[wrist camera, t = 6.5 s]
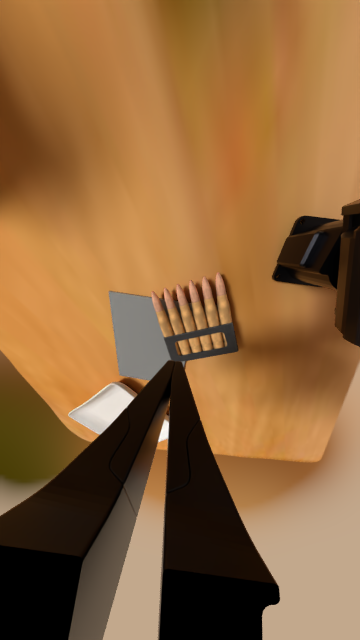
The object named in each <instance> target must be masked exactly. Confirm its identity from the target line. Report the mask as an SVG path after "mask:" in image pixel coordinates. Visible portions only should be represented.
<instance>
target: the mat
mask: <svg viewBox="0 0 360 640" xmlns="http://www.w3.org/2000/svg"><path fill="white" fill-rule="evenodd" d="M109 298H110V305H111V313H112V321H113V329H114V336H115V344H116V352H117V359H118V367H119V375H121V376H127V377H132V378H138V379H144V380H151V379H152V378H153V377H154V376H155V374H156V373H157V372H158V371H159V370H160V369H161V368H162V367H163V365H164V364H165V363H166V362H167V361H168V360H171V358H170V355H169V352H168V349H167V347H166V344H165V341H164V335H163V333H162V330H161V328H160V325H159V323H158V318H157V315H156V311H155V308H154V305H153V301H152V297H146V296H139V295H133V294H126V293H119V292H113V291H109ZM159 300H160V301H161V304H162V306H163V309H164V310H165V313H166V315H167V316H168V318H169V313H168V309H167V306H166V302H165V299H159ZM174 303H175V306H176V308H177V311H178V313H179V314H180V317H181V310H180V306H179V302H178V301H174ZM188 305H189V308H190V310H191V312H192V315H193V308H192V303H188ZM193 316H194V315H193ZM181 320H182V317H181ZM169 321H170V319H169ZM182 323H183V320H182ZM170 324H171V322H170ZM171 326H172V325H171ZM183 326H184V323H183ZM184 328H185V327H184ZM172 329H173V327H172ZM188 342H189V340H188ZM177 343H178V342H177ZM179 348H180V347H179ZM182 363H183V366H184V365H185V361H183V362H182Z"/></svg>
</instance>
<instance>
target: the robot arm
mask: <svg viewBox="0 0 360 640" xmlns="http://www.w3.org/2000/svg"><path fill="white" fill-rule="evenodd" d="M342 215H344V216H343V220H336V219H328V218H320V217H312V216H301V217H299V218H298V219H297V220H296V221H295V223H294V226H293V228H292V230H291V233H290V235H289V237H288V238H287V239H286V241H285V243H284V246H283V248H282V250H281V253H280V255H279V258H278V260H277V266H276V268H275V270H274V273H273V275H272V279H273V280H276V281H282V282H289V283H296V284H303V285H310V286H317V287H326V288H329V289H333V290H337V298H336V308H335V326H336V327H337V328H338V330H339V331H340V332H341V333H342V334H343V338H344V339H345V340H347V341H349V342H351V343H353V344H354V345H357V346H359V347H360V199H359V200H357V201H354V202H352V203H350V204H347V205H345V206H343V207H342ZM301 220H302V221H303V222H302V224H300V221H301ZM277 275H279V276H278V278H276V276H277ZM169 401H170V409H169V429H168V449H167V469H166V489H165V508H164V528H163V548H162V569H161V588H160V589H161V590H160V609H159V627H158V628H159V629H158V640H262V613H263V610H264V609H265V607H267V606H269V605H276V604H277V603H279V601H280V597H279V596H280V595H279V586H278V585H277V583H276V581H275V580H274V578H273V576H272V575H271V573H270V571H269V570H268V568H267V566H266V564H265V563H264V561H263V559H262V558H261V556H260V554H259V553H258V551H257V549H256V547H255V546H254V544H253V542H252V540H251V538H250V536H249V534H248V532H247V530H246V528H245V526H244V524H243V522H242V520H241V517H240V516H239V513H238V511H237V509H236V506H235V504H234V502H233V499H232V497H231V495H230V493H229V490H228V488H227V486H226V483H225V481H224V479H223V476H222V474H221V472H220V469H219V467H218V465H217V463H216V460H215V458H214V455H213V453H212V450H211V448H210V445H209V443H208V440H207V437H206V434H205V431H204V428H203V425H202V422H201V420H200V416H199V413H198V410H197V407H196V404H195V401H194V397H193V394H192V391H191V388H190V385H189V382H188V379H187V376H186V373H185V369H184V366H183V363H182V362H180V361H173V360H168V361H167V362H166V363H165V364H164V365H163V367H162V368H161V369H160V370H159V371H158V372H157V373H156V374H155V376H154V377H153V378H152V379H151V380H150V381H149V382H148V383H147V385H146V386H145V387H144V388H143V389H142V390H141V391H140V392H139V394H138V395H137V396H136V397H135V398H134V399H133V400H132V401H131V403H130V404H129V405H128V406H127V408H125V409H124V410H123V411H122V413H121V414H120V415H119V416H118V417H117V418H116V419H115V420H114V421H113V422H112V423H111V424H110V425H109V426H108V427H107V428H106V429H105V430H104V431H103V432H102V433H101V434H100V435H99V436H98V437H97V438H96V439H95V440H94V441H93V442H92V443H91V444H90V445H89V446H88V447H87V448H86V449H85V450H83V452H81V453H80V454H79V455H78V456H77V457H76V458H75V459H74V460H73V461H72V462H71V463H70V464H69V465H68V466H67V467H66V468H65V469H63V470H62V471H61V472H60V473H59V474H58V475H57V476H56V477H55V478H54V479H52V480H51V481H50V482H49V483H48V484H46V485H45V486H44V487H43V488H41V489H40V490H39V491H37V492H36V493H35V494H33V495H32V496H30V497H29V498H27V499H26V500H24V501H23V502H21V503H20V504H18V505H17V506H15V507H13V508H12V509H10V510H9V511H7V512H6V513H4V514H3V515H1V516H0V640H102V639H103V635H104V632H105V629H106V625H107V622H108V618H109V614H110V611H111V607H112V603H113V600H114V597H115V593H116V590H117V586H118V583H119V579H120V575H121V572H122V568H123V565H124V561H125V557H126V554H127V550H128V547H129V543H130V540H131V536H132V532H133V529H134V526H135V522H136V517H137V515H138V511H139V508H140V504H141V500H142V497H143V493H144V490H145V486H146V483H147V479H148V476H149V472H150V469H151V465H152V462H153V458H154V454H155V450H156V447H157V444H158V440H159V437H160V433H161V430H162V426H163V422H164V419H165V415H166V412H167V408H168V405H169Z"/></svg>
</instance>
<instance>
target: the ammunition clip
mask: <svg viewBox="0 0 360 640" xmlns="http://www.w3.org/2000/svg"><path fill="white" fill-rule="evenodd" d="M202 289H203V296H204V303H205V312H206V316H205V312H204V309H203V306H202V304H201V300H200V298H199V294H198V291H197V289H196V286H195V285H194V283H193V282H192V280H190V283H189V292H190V298H191V303H192V308H193V315H194V318H193V315H192V312H191V310H190V308H189V305H188V302H187V299H186V296H185V294H184V292H183V290H182V288H181V286H180V285H179V284H177V298H178V302H179V306H180V310H181V317H182V320H183V323H184V326H183V323H182V320H181V317H180V314H179V313H178V311H177V308H176V306H175V303H174V301H173V298H172V296H171V294H170V293H169V291H168V290H167V289H166V288H164V298H165V302H166V306H167V309H168V313H169V318H168V316H167V315H166V313H165V310H164V309H163V306H162V304H161V301H160V300H159V298H158V296H157V295H156V294H155V292H154V291H152V301H153V305H154V308H155V311H156V315H157V318H158V323H159V325H160V328H161V330H162V333H163V335H164V341H165V344H166V347H167V349H168V352H169V355H170V358H171V360H173V361H180V362H183V361H188V360H194V359H199V358H205V357H210V356H216V355H221V354H227V353H233V352H237V351H238V346H237V341H236V336H235V331H234V327H233V323H232V317H231V310H230V304H229V301H228V299H227V294H226V289H225V285H224V282H223V279H222V277H221V275H220V273H219V272H218V273H217V275H216V292H217V307H218V312H217V307H216V304H215V302H214V298H213V295H212V290H211V287H210V284H209V282H208V280H207V279H206V277H205V276H204V277H203V281H202ZM218 313H219V317H218ZM206 317H207V320H206ZM219 318H220V320H219ZM169 319H170V321H169ZM194 319H195V322H194ZM207 321H208V322H207ZM170 322H171V324H170ZM195 323H196V325H195ZM171 325H172V326H171ZM172 327H173V329H172ZM184 327H185V328H184ZM210 335H211V337H210ZM222 335H223V337H222ZM199 338H200V339H199ZM211 339H212V341H211ZM188 340H189V342H188ZM177 342H178V343H177ZM200 342H201V343H200ZM189 343H190V345H189ZM190 346H191V347H190ZM179 347H180V348H179Z"/></svg>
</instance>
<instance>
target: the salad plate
mask: <svg viewBox="0 0 360 640" xmlns="http://www.w3.org/2000/svg"><path fill="white" fill-rule="evenodd" d="M137 395H138V394H137V393H136V392H134V391H133V390H132V389H130V388H129V387H128V386H126V385H125V384H123V383H121V382H112V383H110V384H109V385H107V386H106V387H104V388H103V389H102V390H101V391H100V392H98V393H97V394H96V395H94V396H93V397H92V398H90V399H89V400H88V401H86V402H85V403H84V404H82V405H80V406H79V407H77V408H75V409H74V410H72V411H71V412H70V413H69V414H68V416H69V417H71V418H72V419H74V420H76V421H77V422H79V423H81V424H82V425H84V426H86V427H87V428H89V429H91V430H92V431H94V432H96V433H97V434H99V435H100V434H101V433H102V432H103V431H104V430H105V429H106V428H107V427H108V426H109V425H110V424H111V423H112V422H113V421H114V420H115V419H116V418H117V417H118V416H119V415H120V414H121V413H122V411H123V410H124V409H125V408H127V406H128V405H129V404H130V403H131V401H132V400H133V399H134V398H135V397H136V396H137ZM168 429H169V416H168V415H165V419H164V422H163V426H162V430H161V433H160V437H159V440H158V442H160V441H163V440H165V439H168Z"/></svg>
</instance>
